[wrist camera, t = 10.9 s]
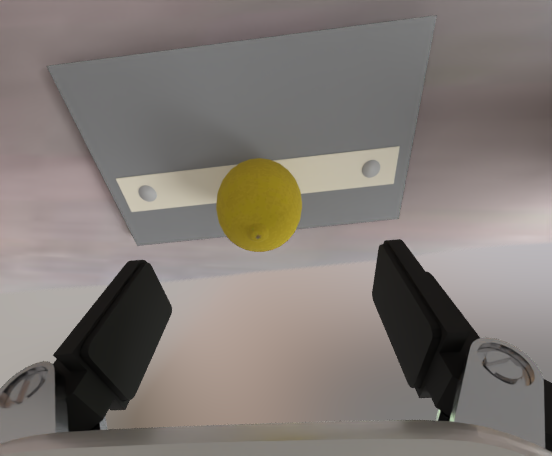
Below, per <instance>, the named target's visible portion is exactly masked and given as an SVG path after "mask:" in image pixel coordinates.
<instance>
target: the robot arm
mask: <svg viewBox="0 0 552 456" xmlns="http://www.w3.org/2000/svg"><path fill="white" fill-rule="evenodd" d="M372 296H373V301H374V303H375V306H376V308H377V311H378V313H379V315H380V318H381V320H382V323H383V325H384V327H385V330H386V332H387V335H388V337H389V339H390V342H391V344H392V346H393V349H394V351H395V354H396V356H397V358H398V361H399V363H400V366H401V368H402V370H403V373H404V375H405V377H406V380H407V382H408V384H409V386H410V387H411V388H415V389H416V391H417V394H418V396H419V398H432V400H433V402H434V404H435V407H436V408H438V409H439V410H438V413H437V417H436V421H431V420H430V421H429V420H380V421H379V420H377V421H336V422H302V423H269V424H240V425H213V426H185V427H159V428H134V429H109V430H107V424H106V419H105V415H106V413H107V411H108V409H110V410H125V409H126V407H127V405H128V403H129V401H130V400H131V399H132V398H133V397H134V396H135V394H136V392H137V390H138V388H139V385H140V383H141V381H142V379H143V377H144V374H145V372H146V370H147V367H148V365H149V363H150V361H151V359H152V356H153V354H154V352H155V349H156V347H157V345H158V343H159V340H160V338H161V336H162V334H163V331H164V329H165V327H166V325H167V322H168V320H169V318H170V315H171V313H172V307H171V304H170V302H169V300H168V298H167V296H166V294H165V292H164V290H163V288H162V286H161V284H160V282H159V280H158V278H157V276H156V274H155V272H154V270H153V268H152V266H151V264H149V263H147V262H146V261H145V260H136V261H129V262H127V263H126V265H125V266H124V267H123V268H122V270H121V271H120V272H119V273H118V275H117V276H116V277H115V278H114V280H113V281H112V282H111V283H110V285H109V286H108V287H107V288H106V290H105V291H104V292H103V293H102V295H101V296H100V297H99V298H98V300H97V301H96V302H95V303H94V305H93V306H92V307H91V308H90V310H89V311H88V312H87V313H86V315H85V316H84V317H83V318H82V320H81V321H80V322H79V323H78V325H77V326H76V327H75V328H74V330H73V331H72V332H71V333H70V335H69V336H68V337H67V338H66V340H65V341H64V342H63V343H62V345H61V346H60V347H59V348H58V350H57V351H56V352H55V353H54V355H53V356H54V357H56V358H57V360H56V361H55V362H54V364H52V363H50V362H44V361H43V362H39V363H35V364H33V365H31V366H28V367H26V368H25V369H23V370H21V371H20V372H18V373H17V374H15V375H14V376H13V377H12V378H10V379H9V380H8V381H7V382H6V383H5V384H4V385H3V386H2V387H1V388H0V456H552V383H551V382H549V381H547V380H544V379H543V376H542V372H541V371H540V369H539V368H538V366H537V364H536V363H535V362H534V361H533V360H532V359H531V358H530V357H529V356H528V355H527V354H525V353H524V352H523V351H521V350H520V349H519V348H517V347H515V346H513V345H511V344H509V343H507V342H505V341H502V340H499V339H495V338H480V337H479V336H478V335H477V333H476V332H475V330H474V329H473V328H472V327H471V325H470V324H469V323H468V321H467V320H466V319H465V318H464V316H463V315H462V313H461V312H460V311H459V309H458V308H457V307H456V306H455V304H454V303H453V302H452V300H451V299H450V298H449V296H448V295H447V294H446V292H445V291H444V290H443V289H442V287H441V286H440V285H439V283H438V282H437V281H436V279H435V278H434V277H433V276H432V275H431V274H430V273H429V272H425V271H424V269H423V268H422V266H421V265H420V264H419V262H418V261H417V260H416V258H415V257H414V256H413V254H412V253H411V252H410V250H409V249H408V247H407V246H406V245H405V243H404V242H403V241H402V240H400V239H399V240H386V241H384V244H382V245H380V246H379V250H378V257H377V264H376V270H375V277H374V285H373V291H372Z"/></svg>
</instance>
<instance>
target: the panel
mask: <svg viewBox="0 0 552 456" xmlns="http://www.w3.org/2000/svg"><path fill="white" fill-rule="evenodd" d="M436 17H437V15H434V16H426V17H419V18H411V19H403V20H396V21H388V22H380V23H373V24H365V25H357V26H350V27H342V28H334V29H327V30H319V31H311V32H304V33H296V34H288V35H281V36H273V37H265V38H258V39H250V40H242V41H235V42H227V43H219V44H212V45H204V46H196V47H189V48H181V49H173V50H166V51H158V52H150V53H143V54H135V55H127V56H120V57H112V58H104V59H97V60H89V61H81V62H74V63H66V64H58V65H51V66H47V68H48V70H49V72H50V74H51V76H52V78H53V80H54V82H55V84H56V86H57V88H58V90H59V92H60V94H61V96H62V98H63V100H64V102H65V104H66V106H67V108H68V110H69V112H70V114H71V116H72V118H73V120H74V121H75V123H76V125H77V127H78V129H79V131H80V133H81V135H82V137H83V139H84V141H85V143H86V145H87V147H88V149H89V151H90V153H91V155H92V157H93V159H94V161H95V163H96V165H97V167H98V169H99V171H100V173H101V175H102V177H103V179H104V181H105V183H106V185H107V187H108V189H109V191H110V193H111V195H112V196H113V198H114V200H115V202H116V204H117V206H118V208H119V210H120V212H121V214H122V216H123V218H124V220H125V222H126V224H127V226H128V228H129V230H130V232H131V234H132V236H133V238H134V240H135V242H136V244H137V246H141V245H150V244H160V243H170V242H179V241H189V240H198V239H208V238H218V237H227V236H226V235H225V234H224V232H223V230H222V228H221V226H220V224H219V221H218V216H217V210H216V203H212V204H203V205H194V206H184V207H175V208H166V209H157V210H148V211H138V212H131V210H130V208H129V206H128V204H127V202H126V199H125V197H124V195H123V193H122V191H121V189H120V187H119V185H118V183H117V181H116V178H123V177H132V176H140V175H149V174H158V173H167V172H176V171H184V170H193V169H202V168H211V167H220V166H229V165H237V164H239V163H241V162H244V161H246V160H249V159H256V158H263V159H270V160H272V161H273V160H281V159H290V158H299V157H308V156H317V155H326V154H334V153H343V152H352V151H361V150H370V149H378V148H387V147H396V146H400V148H399V154H398V160H397V166H396V173H395V179H394V184H387V185H378V186H369V187H360V188H351V189H341V190H332V191H323V192H314V193H304V194H301V199H302V210H301V217H300V221H299V224H298V226H297V228H296V229H305V228H314V227H324V226H334V225H343V224H353V223H363V222H372V221H382V220H392V219H399V214H400V209H401V204H402V198H403V193H404V188H405V182H406V177H407V172H408V166H409V161H410V156H411V150H412V145H413V140H414V134H415V129H416V124H417V118H418V113H419V107H420V102H421V97H422V91H423V86H424V81H425V75H426V70H427V65H428V59H429V54H430V49H431V43H432V38H433V33H434V27H435V22H436Z"/></svg>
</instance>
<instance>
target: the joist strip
mask: <svg viewBox="0 0 552 456" xmlns="http://www.w3.org/2000/svg"><path fill="white" fill-rule="evenodd" d="M399 148H400V146H396V147H387V148H378V149H370V150H361V151H352V152H343V153H334V154H326V155H317V156H308V157H299V158H290V159H281V160H273V161H275V162H277V163H280V164H281V165H282V166H284V167H285V168H286V169H288V170H289V172H290V173H291V174H292V175H293V177H294V178H295V179H296V182H297V184H298V186H299V189H300V191H301V194H304V193H314V192H323V191H332V190H341V189H351V188H360V187H369V186H378V185H387V184H394V179H395V173H396V166H397V160H398V154H399ZM237 165H238V164H237ZM237 165H229V166H220V167H211V168H202V169H193V170H184V171H176V172H167V173H158V174H149V175H140V176H132V177H123V178H116V181H117V183H118V185H119V187H120V189H121V191H122V193H123V195H124V197H125V199H126V202H127V204H128V206H129V208H130V210H131V212H138V211H148V210H157V209H166V208H175V207H184V206H194V205H203V204H212V203H217V193H218V190H219V188H220V185H221V183H222V181H223V179H224V178H225V176H226V175H227V174H228V173H229V171H230V170H231V169H232V168H234V167H235V166H237Z"/></svg>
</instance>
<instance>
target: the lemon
mask: <svg viewBox="0 0 552 456" xmlns="http://www.w3.org/2000/svg"><path fill="white" fill-rule="evenodd" d="M216 210H217V216H218V221H219V224H220V226H221V228H222V230H223V232H224V234H225V235H226V236H227V237H228V238H229V239H230V241H232V242H233V243H234V244H236V245H237V246H239V247H241V248H243V249H245V250H249V251H254V252H264V251H269V250H273V249H275V248H277V247H279V246H281V245H282V244H284V243H285V242H286V241H288V240H289V238H290V237H291V236H292V235H293V233H294V232H295V230H296V228H297V226H298V224H299V221H300V217H301V210H302V199H301V191H300V189H299V186H298V184H297V182H296V179H295V178H294V177H293V175H292V174H291V173H290V172H289V170H288V169H286V168H285V167H284V166H282V165H281V164H280V163H277V162H275V161H272V160H270V159H263V158H256V159H249V160H246V161H244V162H241V163H239V164H238V165H237V166H235V167H234V168H232V169H231V170H230V171H229V173H228V174H227V175H226V176H225V178H224V179H223V181H222V183H221V185H220V188H219V190H218V193H217V203H216Z"/></svg>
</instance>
